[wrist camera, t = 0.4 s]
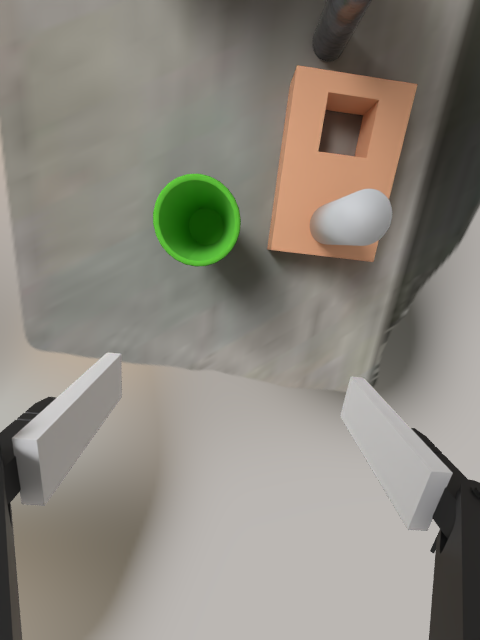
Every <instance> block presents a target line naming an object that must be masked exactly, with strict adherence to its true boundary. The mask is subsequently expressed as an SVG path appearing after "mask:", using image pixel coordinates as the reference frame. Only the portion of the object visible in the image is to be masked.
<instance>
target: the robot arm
mask: <svg viewBox="0 0 480 640" xmlns="http://www.w3.org/2000/svg"><path fill="white" fill-rule="evenodd" d="M121 382H122V381H121V354H118V353H106V354H105V355H104V356H103V357H102V358H100V359H99V360H98V361H97V362H96V363H95V364H94V365H93V366H92V367H90V368H89V369H88V370H87V371H86V372H85V373H84V374H83V375H82V376H80V377H79V378H78V379H77V380H76V381H75V382H74V383H73V384H72V385H71V386H69V387H68V388H67V389H66V390H65V391H64V392H63V393H62V394H60V395H59V396H58V397H57V398H55V397H48V398H46V399H43V400H41V401H39V402H37V403H35V404H34V405H33V406H32V407H31V408H29V409H28V410H27V411H26V413H23V414H22V415H21V416H20V417H18V419H17V420H15V421H14V422H13V423H11V424H10V425H9V426H8V427H6V428H5V429H4V430H3V431H2V432H1V433H0V640H22V632H21V620H20V608H19V596H18V584H17V571H16V559H15V547H14V535H13V523H12V510H11V504H10V502H11V501H12V500H13V499H14V497H15V496H16V495H17V494H18V493H19V492H20V496H21V503H22V504H27V505H42V506H45V504H46V503H47V501H48V500H49V499H50V497H51V496H52V494H53V493H54V492H55V490H56V489H57V488H58V486H59V485H60V483H61V482H62V481H63V479H64V478H65V476H66V475H67V473H68V472H69V471H70V469H71V468H72V466H73V465H74V464H75V462H76V461H77V459H78V458H79V457H80V455H81V453H82V452H83V451H84V449H85V448H86V447H87V445H88V444H89V442H90V441H91V440H92V438H93V437H94V435H95V434H96V433H97V431H98V430H99V428H100V427H101V426H102V424H103V423H104V421H105V420H106V418H107V417H108V416H109V414H110V413H111V411H112V410H113V409H114V407H115V406H116V404H117V403H118V401H119V400H120V399H121V397H122V383H121ZM340 417H341V419H342V421H343V422H344V424H345V425H346V427H347V429H348V431H349V432H350V434H351V436H352V437H353V439H354V441H355V442H356V444H357V445H358V447H359V449H360V451H361V452H362V454H363V456H364V457H365V459H366V461H367V462H368V464H369V466H370V467H371V469H372V471H373V472H374V474H375V476H376V477H377V479H378V481H379V482H380V484H381V486H382V487H383V489H384V491H385V492H386V494H387V496H388V497H389V499H390V501H391V502H392V504H393V506H394V507H395V509H396V511H397V512H398V514H399V516H400V517H401V519H402V521H403V522H404V524H405V526H406V528H407V529H408V530H421V531H427V530H428V528H429V526H430V523H431V521H432V519H434V521H435V522H436V524H437V525H438V526H439V528H440V531H439V533H438V535H437V537H436V539H435V542H434V544H433V546H432V548H431V552H432V553H434V552H435V550H436V555H435V568H434V581H433V594H432V607H431V621H430V633H429V640H480V483H479V482H476V481H473V480H468V479H467V478H466V477H465V476H464V475H463V474H462V473H461V472H460V471H459V470H458V469H457V468H456V467H455V466H454V465H453V464H452V463H451V462H450V461H449V460H448V458H447V457H446V456H444V455H443V454H442V452H441V451H440V450H439V449H438V448H437V447H435V445H434V444H433V443H432V442H431V441H430V440H429V439H428V438H427V437H426V436H425V435H423V434H422V433H420V432H419V431H417V430H416V429H415V428H410V427H409V426H408V425H407V424H406V423H405V421H404V420H403V419H402V418H401V417H400V416H399V415H398V414H397V413H396V412H395V411H394V410H393V409H392V408H391V407H390V406H389V404H388V403H387V402H386V401H385V400H384V399H383V398H382V397H381V396H380V395H379V394H378V393H377V392H376V390H375V389H374V388H373V387H372V386H371V385H370V384H369V383H368V382H367V381H366V380H365V379H364V378H362V377H352V376H351V377H350V381H349V385H348V389H347V392H346V396H345V400H344V404H343V407H342V411H341V415H340Z"/></svg>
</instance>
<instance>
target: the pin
mask: <svg viewBox="0 0 480 640" xmlns="http://www.w3.org/2000/svg"><path fill="white" fill-rule="evenodd" d="M371 1H372V0H327V2H326V4H325V7H324V9H323V12H322V15H321V17H320V20H319V22H318V25H317V28H316V30H315V33H314V36H313V49H314V52H315V54H316V55H317V56H318V58H320V59H321V60H323V61H332V60H335V59H336V58H338V57H339V56H340V54H341V53H342V51H343V49H344V48H345V46H346V44H347V43H348V41H349V39H350V37H351V36H352V34H353V32H354V30H355V29H356V27H357V25H358V23H359V22H360V20H361V18H362V16H363V15H364V13H365V11H366V9H367V8H368V6H369V4H370V2H371Z"/></svg>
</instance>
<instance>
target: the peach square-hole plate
mask: <svg viewBox="0 0 480 640" xmlns="http://www.w3.org/2000/svg"><path fill="white" fill-rule="evenodd" d="M417 85H418V84H413V83H407V82H401V81H394V80H388V79H381V78H375V77H369V76H362V75H356V74H349V73H343V72H337V71H330V70H324V69H317V68H311V67H305V66H298V65H297V67H296V70H295V73H294V75H293V78H292V81H291V84H290V88H289V95H288V103H287V110H286V117H285V124H284V132H283V139H282V146H281V153H280V161H279V168H278V175H277V182H276V190H275V197H274V204H273V212H272V219H271V226H270V233H269V241H268V248H267V249H269V250H276V251H284V252H293V253H301V254H310V255H318V256H327V257H335V258H344V259H352V260H361V261H369V262H374V258H375V254H376V249H377V245H378V241H379V239H381V238H382V237H383V236H384V235H385V233H386V232H387V230H388V229H389V226H390V224H391V220H392V207H391V203H390V201H389V197H390V193H391V189H392V185H393V181H394V177H395V173H396V169H397V165H398V161H399V157H400V153H401V149H402V145H403V141H404V137H405V133H406V129H407V125H408V121H409V117H410V113H411V109H412V105H413V101H414V97H415V93H416V89H417ZM325 110H330V111H336V112H343V113H350V114H357V115H363V118H362V123H361V128H360V133H359V138H358V143H357V147H356V152H355V156H347V155H340V154H333V153H326V152H319V151H318V150H319V144H320V139H321V133H322V127H323V121H324V115H325Z"/></svg>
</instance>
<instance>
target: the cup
mask: <svg viewBox="0 0 480 640" xmlns="http://www.w3.org/2000/svg"><path fill="white" fill-rule="evenodd" d="M240 222H241V219H240V213H239V208H238V205H237V203H236V201H235V198H234V197H233V195H232V194H231V192H230V191H229V190H228V188H226V187H225V186H224V185H223V184H222V183H221V182H220V181H218V180H216V179H214V178H212V177H210V176H206V175H202V174H187V175H184V176H181V177H178V178H176V179H174V180H173V181H171V182H170V183H168V184H167V185H166V187H165V188H164V189H163V190H162V191H161V192H160V194H159V196H158V198H157V200H156V203H155V207H154V212H153V224H154V229H155V233H156V236H157V238H158V240H159V242H160V244H161V246H162V247H163V248H164V249H165V250H166V252H167V253H168V254H169V255H171V256H172V257H173V258H174V259H176V260H177V261H180V262H182V263H184V264H186V265H191V266H207V265H210V264H214V263H216V262H218V261H220V260H221V259H223V258H224V257H225V256H226V255H227V254H228V253H229V252H230V251H231V250H232V248H233V247H234V245H235V243H236V242H237V239H238V236H239V232H240Z"/></svg>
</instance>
